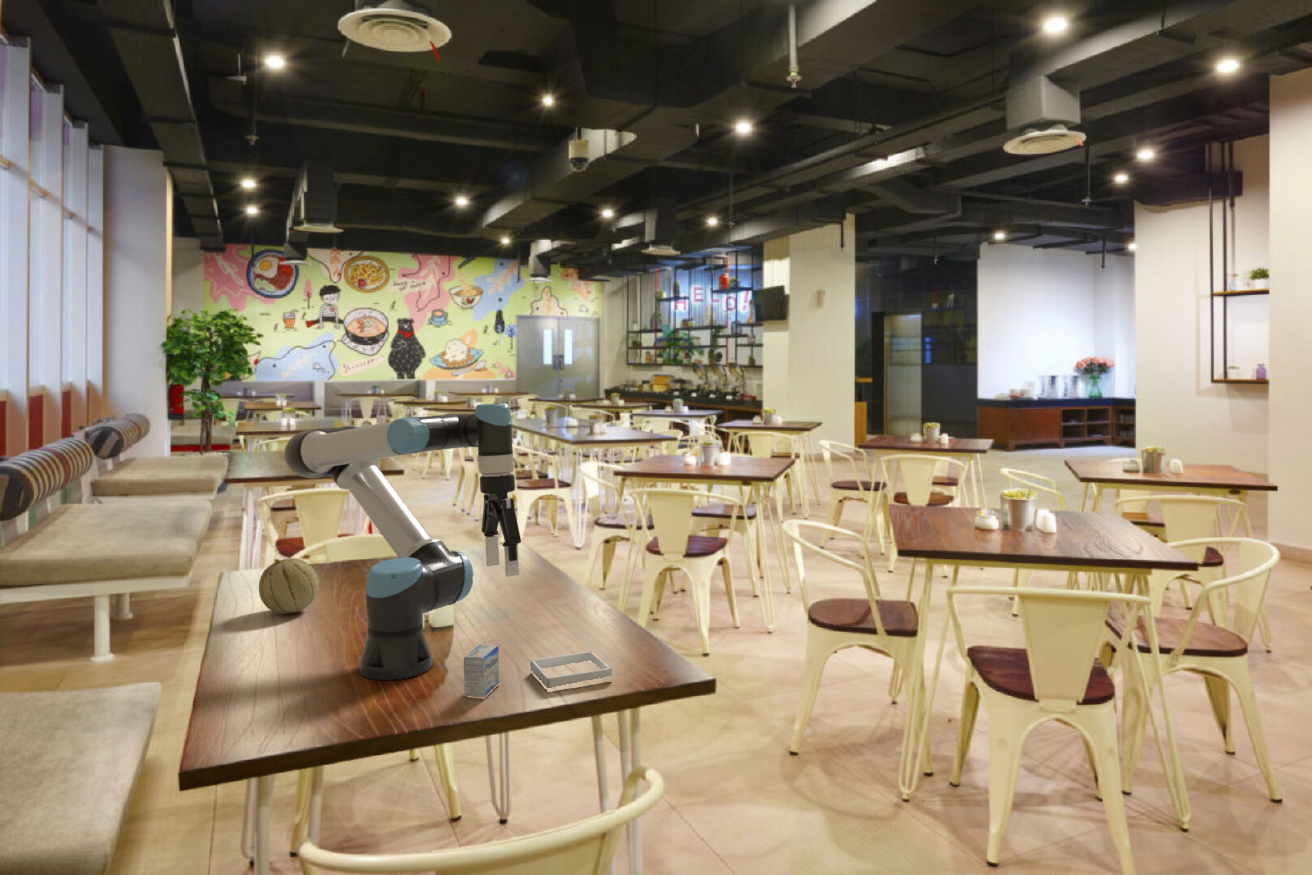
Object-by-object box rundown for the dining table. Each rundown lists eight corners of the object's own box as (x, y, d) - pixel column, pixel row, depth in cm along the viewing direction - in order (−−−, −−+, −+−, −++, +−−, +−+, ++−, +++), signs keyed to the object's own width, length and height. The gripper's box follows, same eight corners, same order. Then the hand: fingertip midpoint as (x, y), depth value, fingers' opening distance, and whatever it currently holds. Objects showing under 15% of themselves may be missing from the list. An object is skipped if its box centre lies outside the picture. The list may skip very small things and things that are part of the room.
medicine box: (484, 700, 170) (484, 658, 170) (463, 698, 171) (463, 656, 170) (499, 685, 178) (499, 645, 177) (479, 684, 179) (479, 643, 178)
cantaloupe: (331, 609, 232) (329, 555, 230) (283, 624, 219) (281, 566, 218) (295, 602, 239) (293, 549, 238) (247, 615, 227) (245, 559, 225)
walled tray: (547, 692, 174) (547, 678, 174) (530, 673, 185) (530, 659, 185) (611, 682, 180) (611, 668, 180) (591, 664, 191) (591, 651, 191)
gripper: (532, 476, 178) (538, 577, 179) (496, 469, 200) (501, 559, 201) (497, 479, 174) (503, 582, 175) (464, 471, 196) (469, 563, 197)
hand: (502, 570), depth 188 cm, fingers open, 13 cm apart
